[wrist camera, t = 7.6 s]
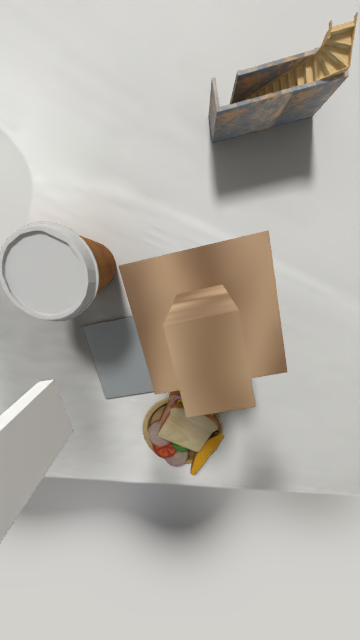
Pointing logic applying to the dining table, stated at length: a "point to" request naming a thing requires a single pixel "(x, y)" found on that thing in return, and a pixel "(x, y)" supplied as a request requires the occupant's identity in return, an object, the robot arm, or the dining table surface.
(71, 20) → the dining table surface
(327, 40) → the ruin model on sheet
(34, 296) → the disposable coffee cup
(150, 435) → the toy sandwich meal
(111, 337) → the grey square tile
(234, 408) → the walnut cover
